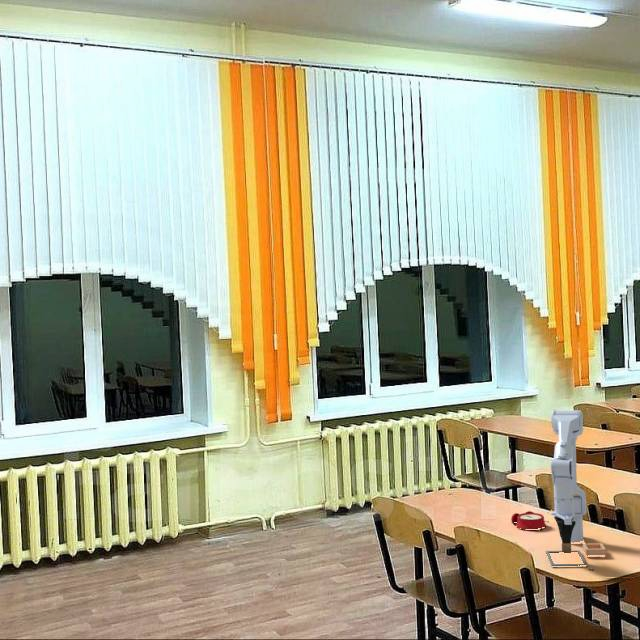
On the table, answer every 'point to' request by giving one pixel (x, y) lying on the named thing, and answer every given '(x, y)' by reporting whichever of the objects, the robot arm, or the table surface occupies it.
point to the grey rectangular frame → (565, 564)
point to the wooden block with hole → (594, 549)
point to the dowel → (566, 547)
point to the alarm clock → (529, 520)
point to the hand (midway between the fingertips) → (565, 541)
